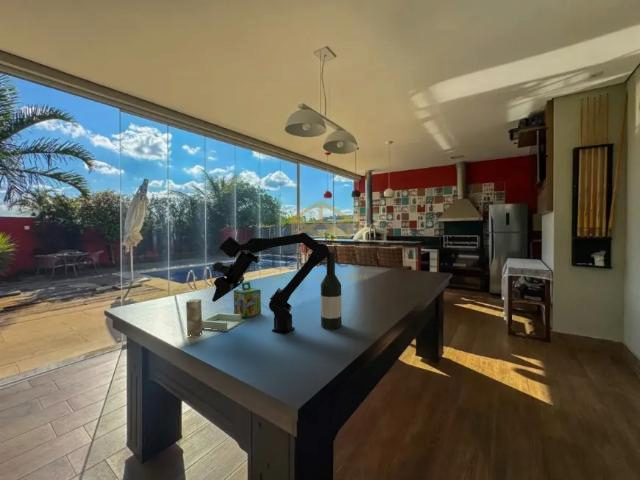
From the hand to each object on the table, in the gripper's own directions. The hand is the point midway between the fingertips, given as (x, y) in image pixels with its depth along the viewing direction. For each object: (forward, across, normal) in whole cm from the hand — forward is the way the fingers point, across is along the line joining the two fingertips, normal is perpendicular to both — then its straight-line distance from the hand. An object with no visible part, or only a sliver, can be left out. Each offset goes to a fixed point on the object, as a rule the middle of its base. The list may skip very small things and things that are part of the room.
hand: (217, 298), depth 106 cm
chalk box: (+7, -22, +12) cm, 26 cm away
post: (+15, +3, +2) cm, 15 cm away
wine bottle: (-16, -4, +43) cm, 46 cm away
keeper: (+11, -8, +6) cm, 15 cm away
